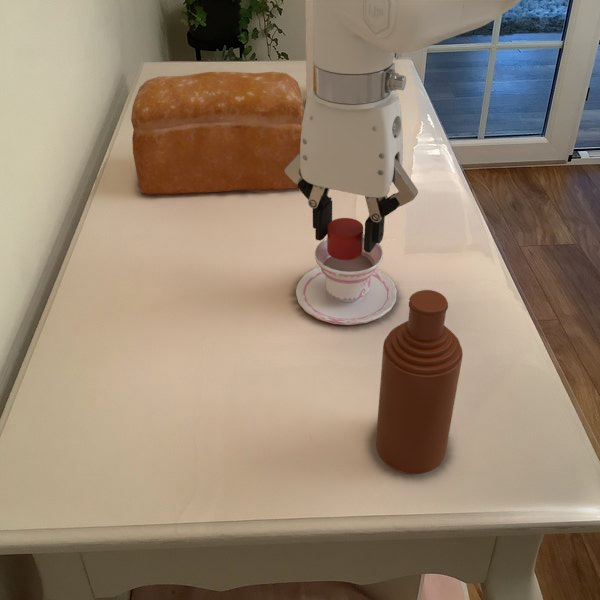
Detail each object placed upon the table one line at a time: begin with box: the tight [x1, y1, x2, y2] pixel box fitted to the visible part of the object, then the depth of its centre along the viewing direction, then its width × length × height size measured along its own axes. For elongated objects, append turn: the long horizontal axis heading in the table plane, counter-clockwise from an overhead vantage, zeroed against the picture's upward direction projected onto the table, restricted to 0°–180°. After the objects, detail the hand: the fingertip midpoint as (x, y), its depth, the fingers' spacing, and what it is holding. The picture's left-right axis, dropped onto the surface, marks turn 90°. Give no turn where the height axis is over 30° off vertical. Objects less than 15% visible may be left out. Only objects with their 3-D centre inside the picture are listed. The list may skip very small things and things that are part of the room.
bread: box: [130, 71, 305, 195], centre depth 101 cm, size 14×26×16 cm, turn 93°
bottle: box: [375, 289, 464, 475], centre depth 57 cm, size 6×6×17 cm
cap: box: [326, 217, 364, 260], centre depth 76 cm, size 4×4×3 cm
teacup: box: [295, 233, 397, 326], centre depth 78 cm, size 12×12×6 cm
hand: (347, 238), depth 76 cm, fingers open, 5 cm apart
